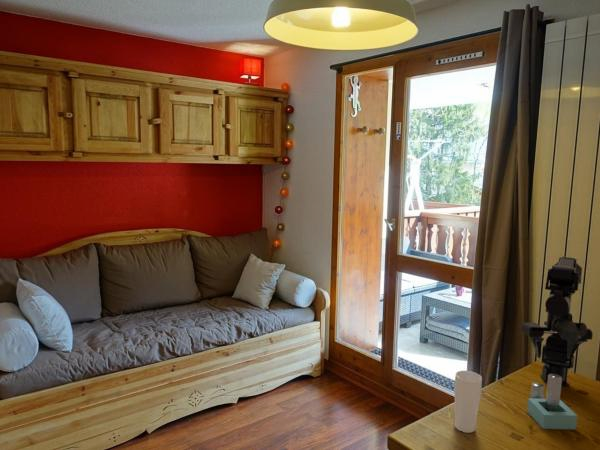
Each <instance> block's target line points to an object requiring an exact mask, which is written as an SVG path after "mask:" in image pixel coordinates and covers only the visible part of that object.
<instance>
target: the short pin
mask: <svg viewBox="0 0 600 450" xmlns="http://www.w3.org/2000/svg"><path fill="white" fill-rule="evenodd" d="M530 386H531V387H530V388H531V389H530V396H529V397H530V398H535V399H544V393H545V391H544V390H545V385H544V384H543V383H540V382H531V385H530Z"/></svg>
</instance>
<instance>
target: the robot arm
mask: <svg viewBox="0 0 600 450" xmlns="http://www.w3.org/2000/svg"><path fill="white" fill-rule="evenodd" d="M582 275H583V268H582V267H581V266H580V265H579V264H578V259H576V258H575V257H569V256H568V257H567V256H561V257H560V256H559V258H558V262H556V263H554V264H552V265H551V267H550V268H548V269H547V276H546V281H545V287H544V289H545V290H548V291H549V295H548V297H547V299H546V300H545V305H544V306H545V312H546V313H547V316H546V321H544V323H543V325H544V326H541V325H539V323H536V322H524V323H523V324H521V332H523V334H525V335H526V336H527V337H529V338H530V341H531V343H532V346H533V349H534V352H535V355H536V357H537V358H538V359H541V363H542V364H543V366H542V373H541V375H540V378H541V379H542V380H544V382H546V383H547V382H548V374H557V375H560V376H561V377H562V384H561V387H563V386H567V387H569V386H570V383H569V382H568V371H569V370H571V369H572V368H574V362H575V355H574V354H575V353H576V351H577V349H578V348H579V346H580V345H581V344H584V343H587V342H588V340H590V341H591V340H593V336H594V333H593V330H592V329H590V328H588V326H587V324H586V323H585V322H573V314H572V313H570V312H571V304H572V303H571V302H572V297H573V295H574V294H575V293H576V292H577V291H579V284H580V285H581V284H582V277H583V276H582ZM544 334H549V335H548V336H547V338H546V340H545V338H544V337H543V336H544ZM544 340H545V344H543V345H542V343H543V341H544Z"/></svg>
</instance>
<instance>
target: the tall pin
mask: <svg viewBox="0 0 600 450" xmlns="http://www.w3.org/2000/svg"><path fill="white" fill-rule="evenodd" d="M561 384H562V377H561V376H560V375H557V374H548V382H546V394H545V399H546V402H545V410H546V411H547V412H559V403H560V400H561V392H562V385H561Z"/></svg>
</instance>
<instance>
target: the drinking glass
mask: <svg viewBox="0 0 600 450" xmlns="http://www.w3.org/2000/svg"><path fill="white" fill-rule="evenodd" d="M482 381H483V377H482V376H481V375H480V374H478V373H477V372H474V371H471V370H459V371H456V373H455V377H454V388H453V389H454V393H453V394H454V427H455V428H456V430H458V431H460V432H461V431H462V433H468V434H471V433H474V431H476V427H477V417H478V413H479V406H480V401H481V396H482V395H481V394H482V388H483V387H482V386H483V384H482V383H483V382H482Z"/></svg>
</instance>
